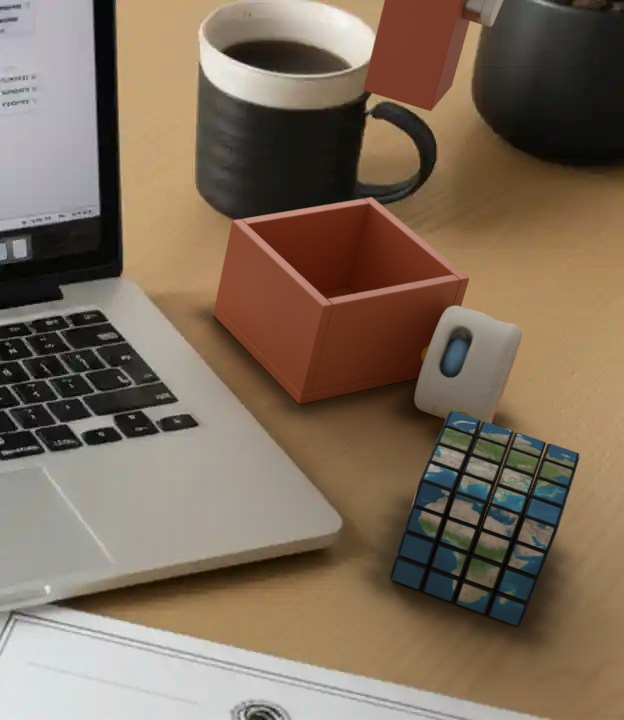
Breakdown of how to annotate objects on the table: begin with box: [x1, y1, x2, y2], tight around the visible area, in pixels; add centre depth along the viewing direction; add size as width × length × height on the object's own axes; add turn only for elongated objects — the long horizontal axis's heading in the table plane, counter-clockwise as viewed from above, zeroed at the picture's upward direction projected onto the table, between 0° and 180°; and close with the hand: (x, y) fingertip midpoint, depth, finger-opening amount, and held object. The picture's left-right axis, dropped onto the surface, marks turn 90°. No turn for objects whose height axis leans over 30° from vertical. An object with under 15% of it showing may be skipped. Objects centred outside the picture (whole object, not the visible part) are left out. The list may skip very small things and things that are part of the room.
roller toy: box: [413, 305, 523, 431], centre depth 85 cm, size 4×6×6 cm
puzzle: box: [389, 411, 581, 627], centre depth 75 cm, size 6×6×6 cm
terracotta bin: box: [212, 196, 470, 405], centre depth 89 cm, size 9×9×6 cm
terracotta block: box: [362, 0, 471, 112], centre depth 82 cm, size 4×4×9 cm
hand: (427, 4), depth 81 cm, fingers closed on terracotta block, 3 cm apart
